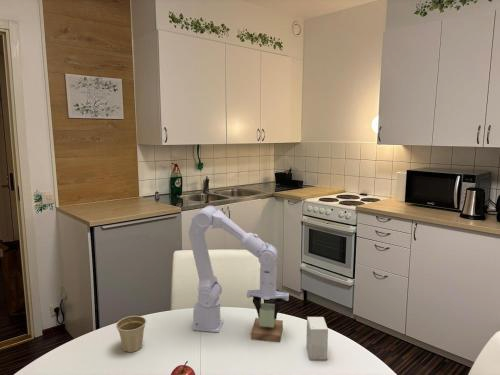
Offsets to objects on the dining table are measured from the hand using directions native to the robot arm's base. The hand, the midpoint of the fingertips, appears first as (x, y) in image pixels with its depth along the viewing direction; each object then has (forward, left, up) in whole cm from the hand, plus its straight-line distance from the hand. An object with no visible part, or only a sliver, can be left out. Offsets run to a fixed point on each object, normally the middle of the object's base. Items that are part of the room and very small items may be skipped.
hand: (267, 317), depth 132 cm
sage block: (0, 0, -2) cm, 2 cm away
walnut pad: (0, 0, -6) cm, 6 cm away
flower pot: (-43, -16, -6) cm, 46 cm away
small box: (+17, -9, -6) cm, 20 cm away
